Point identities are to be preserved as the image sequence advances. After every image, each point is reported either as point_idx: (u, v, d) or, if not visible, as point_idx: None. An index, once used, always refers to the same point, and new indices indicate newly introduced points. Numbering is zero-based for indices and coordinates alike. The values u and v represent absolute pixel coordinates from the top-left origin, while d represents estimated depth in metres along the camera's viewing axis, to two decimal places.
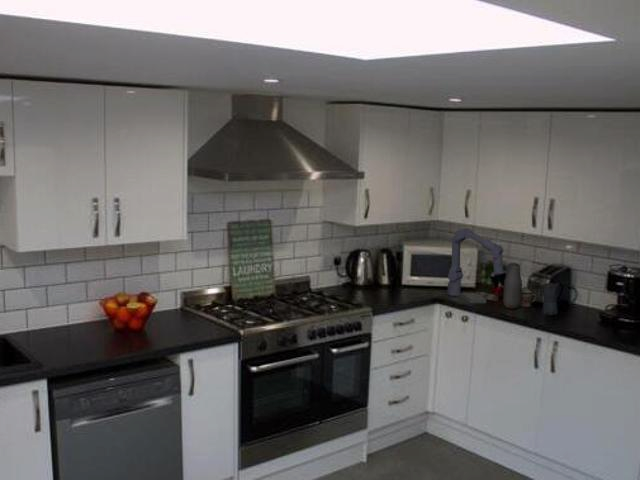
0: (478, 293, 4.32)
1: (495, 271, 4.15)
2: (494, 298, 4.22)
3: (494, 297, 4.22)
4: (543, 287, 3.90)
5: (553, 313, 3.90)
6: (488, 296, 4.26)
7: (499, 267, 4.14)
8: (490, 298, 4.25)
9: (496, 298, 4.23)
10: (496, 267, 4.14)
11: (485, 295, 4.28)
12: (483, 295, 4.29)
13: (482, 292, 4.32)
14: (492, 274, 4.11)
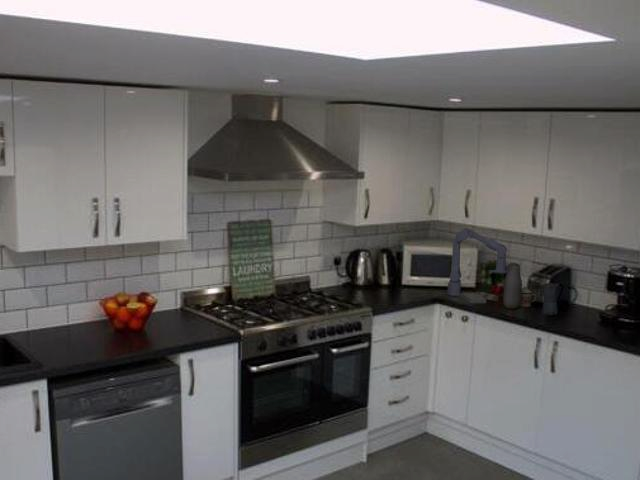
0: (478, 293, 4.32)
1: (496, 269, 4.26)
2: (494, 298, 4.22)
3: (494, 297, 4.22)
4: (543, 287, 3.90)
5: (553, 313, 3.90)
6: (488, 296, 4.26)
7: (499, 266, 4.24)
8: (490, 298, 4.25)
9: (496, 298, 4.23)
10: (497, 265, 4.25)
11: (485, 295, 4.28)
12: (483, 295, 4.29)
13: (482, 292, 4.32)
14: (489, 271, 4.25)
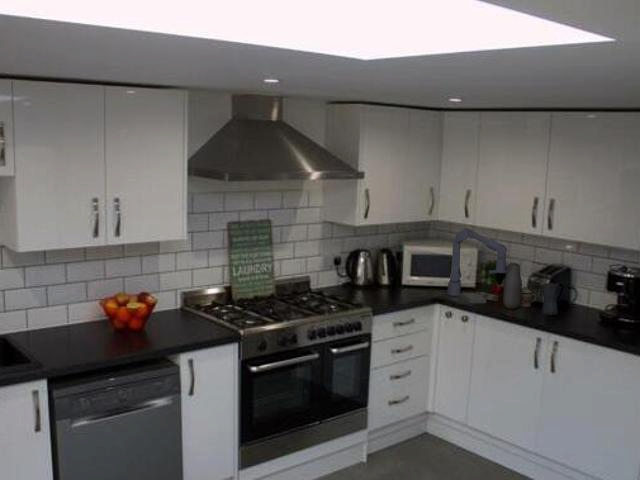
0: (478, 293, 4.32)
1: (496, 269, 4.26)
2: (494, 298, 4.22)
3: (494, 297, 4.22)
4: (543, 287, 3.90)
5: (553, 313, 3.90)
6: (488, 296, 4.26)
7: (499, 266, 4.24)
8: (490, 298, 4.25)
9: (496, 298, 4.23)
10: (497, 265, 4.25)
11: (485, 295, 4.28)
12: (483, 295, 4.29)
13: (482, 292, 4.32)
14: (489, 271, 4.25)
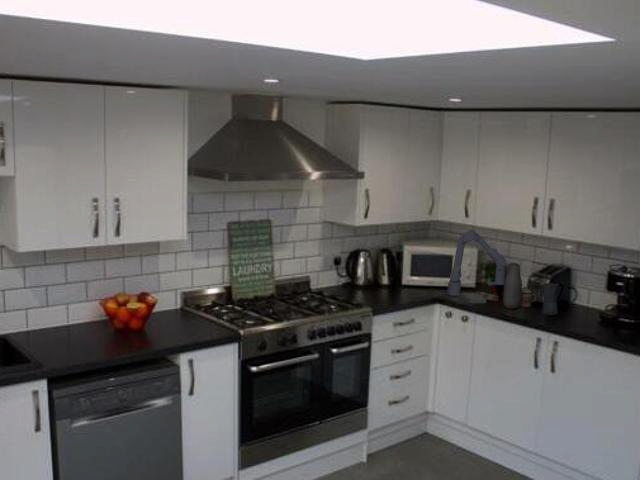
0: (478, 293, 4.32)
1: (495, 281, 4.28)
2: (494, 298, 4.22)
3: (494, 297, 4.22)
4: (543, 287, 3.90)
5: (553, 313, 3.90)
6: (488, 296, 4.26)
7: (498, 278, 4.25)
8: (490, 298, 4.25)
9: (496, 298, 4.23)
10: (496, 277, 4.26)
11: (485, 295, 4.28)
12: (483, 295, 4.29)
13: (482, 292, 4.32)
14: (488, 283, 4.27)
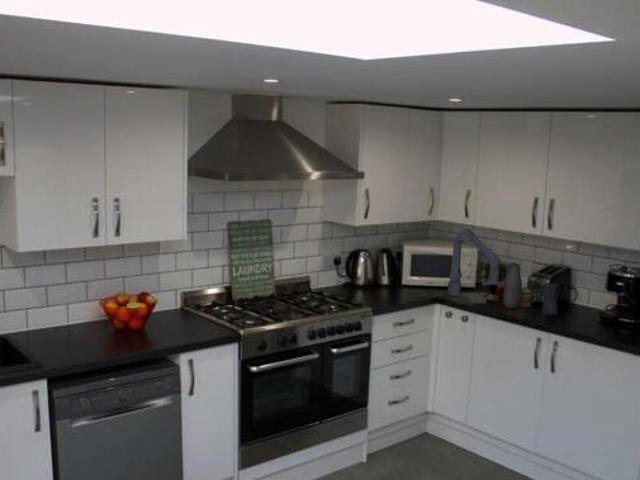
0: (478, 293, 4.32)
1: (489, 281, 4.27)
2: (494, 298, 4.22)
3: (494, 297, 4.22)
4: (543, 287, 3.90)
5: (553, 313, 3.90)
6: (488, 296, 4.26)
7: (492, 278, 4.24)
8: (490, 298, 4.25)
9: (496, 298, 4.22)
10: (490, 277, 4.26)
11: (485, 295, 4.28)
12: (483, 295, 4.29)
13: (482, 292, 4.32)
14: (482, 283, 4.26)
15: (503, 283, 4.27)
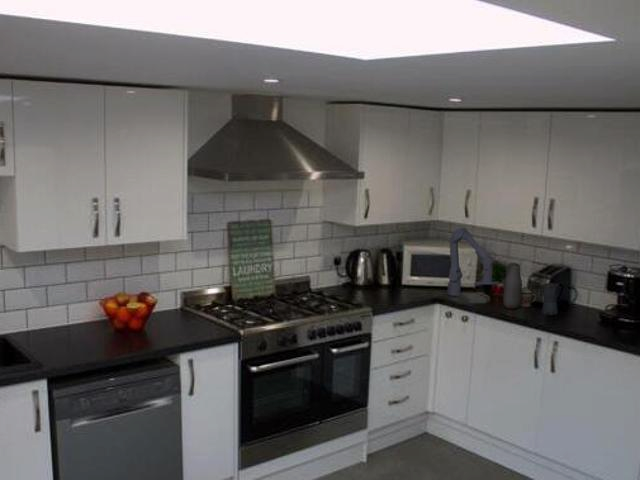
0: (477, 293, 4.33)
1: None
2: (485, 298, 4.21)
3: (485, 297, 4.20)
4: (543, 287, 3.90)
5: (553, 313, 3.90)
6: (482, 296, 4.25)
7: (485, 278, 4.24)
8: None
9: (487, 299, 4.20)
10: (483, 277, 4.25)
11: (480, 295, 4.27)
12: None
13: (481, 292, 4.32)
14: (476, 283, 4.25)
15: (497, 283, 4.26)
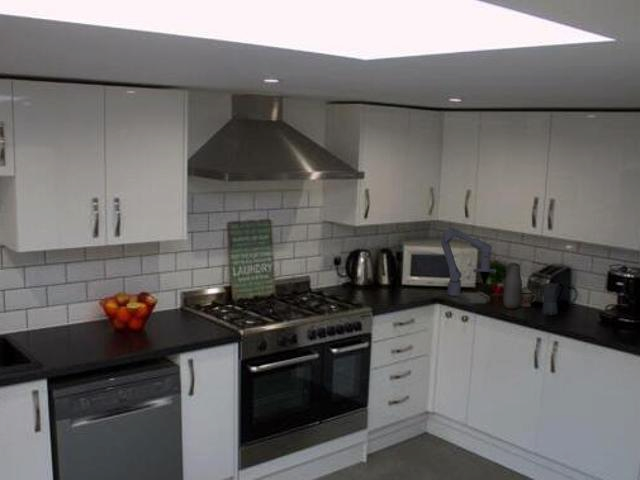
0: (477, 293, 4.33)
1: None
2: (485, 298, 4.21)
3: (485, 297, 4.20)
4: (543, 287, 3.90)
5: (553, 313, 3.90)
6: (482, 296, 4.25)
7: (483, 265, 4.27)
8: None
9: (487, 299, 4.20)
10: (481, 264, 4.28)
11: (480, 295, 4.27)
12: None
13: (481, 292, 4.32)
14: (474, 270, 4.29)
15: (494, 270, 4.29)
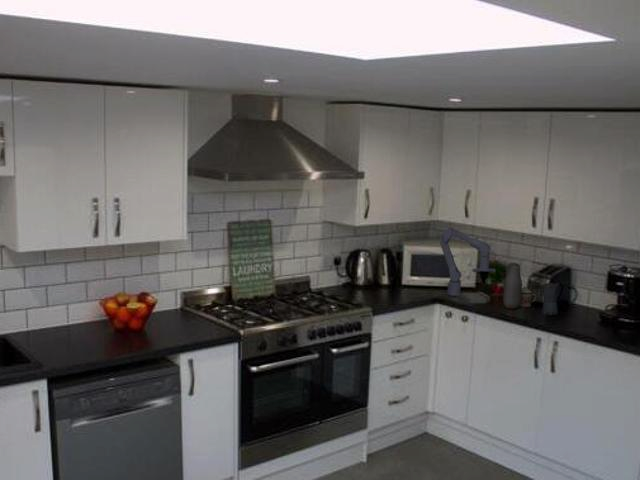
0: (477, 293, 4.33)
1: None
2: (485, 298, 4.21)
3: (485, 297, 4.20)
4: (543, 287, 3.90)
5: (553, 313, 3.90)
6: (482, 296, 4.25)
7: (482, 265, 4.28)
8: None
9: (487, 299, 4.20)
10: (480, 264, 4.29)
11: (480, 295, 4.27)
12: None
13: (481, 292, 4.32)
14: (473, 270, 4.29)
15: (493, 270, 4.30)
